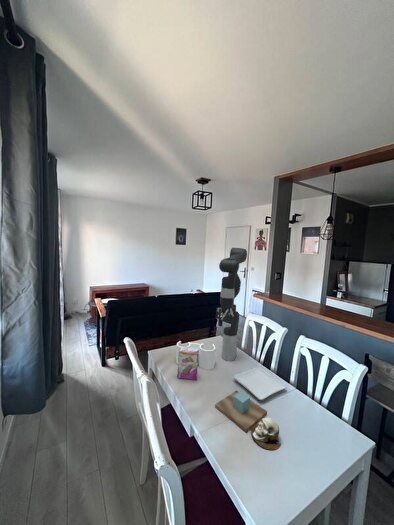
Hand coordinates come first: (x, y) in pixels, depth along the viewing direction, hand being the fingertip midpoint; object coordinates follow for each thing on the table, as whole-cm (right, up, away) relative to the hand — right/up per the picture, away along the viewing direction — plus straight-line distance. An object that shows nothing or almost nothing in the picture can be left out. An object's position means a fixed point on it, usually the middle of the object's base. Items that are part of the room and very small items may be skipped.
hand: (225, 324), depth 123 cm
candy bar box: (-21, -32, +5) cm, 39 cm away
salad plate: (+19, -35, 0) cm, 40 cm away
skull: (+12, -38, -32) cm, 51 cm away
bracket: (-17, -31, +19) cm, 40 cm away
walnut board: (+5, -35, -19) cm, 40 cm away
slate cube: (+5, -34, -19) cm, 39 cm away
